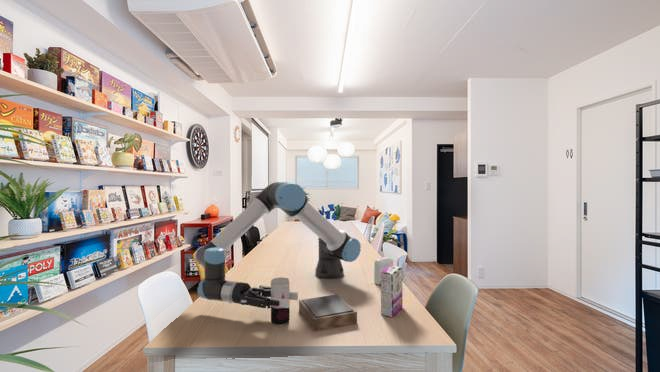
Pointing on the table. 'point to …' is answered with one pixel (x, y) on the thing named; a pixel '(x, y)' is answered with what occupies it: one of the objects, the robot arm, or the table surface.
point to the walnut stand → (327, 312)
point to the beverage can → (281, 291)
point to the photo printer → (381, 268)
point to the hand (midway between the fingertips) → (293, 299)
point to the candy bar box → (391, 290)
